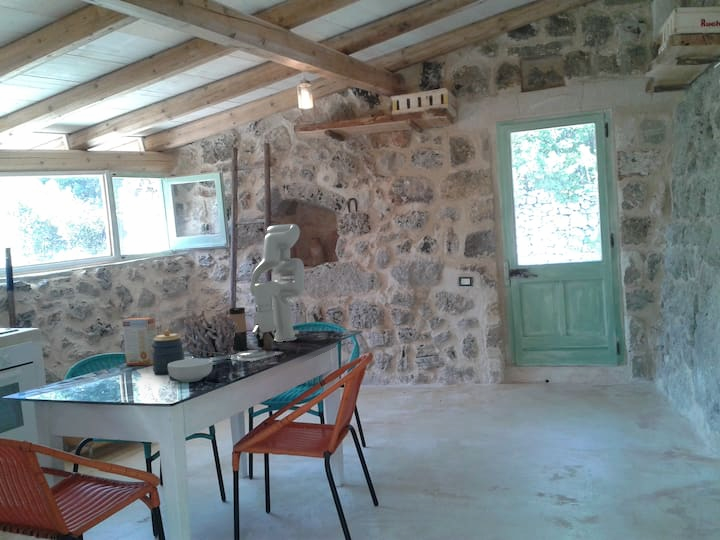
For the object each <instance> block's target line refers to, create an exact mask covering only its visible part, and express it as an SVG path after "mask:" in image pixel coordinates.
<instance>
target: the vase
mask: <svg viewBox="0 0 720 540" xmlns="http://www.w3.org/2000/svg"><path fill="white" fill-rule="evenodd" d="M262 339H263V345H264V347H259V348H260V350H265V351H269V349H270V350H271V349H273V347H274V344H273V338H272V336H271V335H270V334H269V333H268V332H266V333H263V336H262Z"/></svg>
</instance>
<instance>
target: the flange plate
mask: <svg viewBox="0 0 720 540" xmlns="http://www.w3.org/2000/svg"><path fill="white" fill-rule="evenodd" d="M282 353H283V354H284V351H273V350H270V351H269V350H262V349H249V350H241V351H240V352H237V353H236V354H235V353H234V354H232V355H231V358H230V359H231V360H230V361H234V360H237V361H236V362H246V361H250V363H253V361H254V362H258V361H260V360H265V359H268V358H272V357H275V355H276V356H279V355H282ZM257 360H258V361H257Z"/></svg>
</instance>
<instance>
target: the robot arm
mask: <svg viewBox="0 0 720 540" xmlns="http://www.w3.org/2000/svg"><path fill="white" fill-rule="evenodd" d="M300 232H301V231H300V227H299V225H298V224H295V223H287V224H273V225H269V226H268V227H267V228H266V235H265V237H264V239H263V240H264V241H263V250H262V259H261V261H260V263H258V265H257V266H256V268H255V269H254V270H253V272H252V274H251V276H250V277H251V278H250V279H251V280H250V290H249V291H250V293H251V296H253V297H254V303H255V312H254V315H253V316H254V317H253V330H252V334H253V335H254V337H255V338H256V339H257V348H260V347H264V345H263V339H262V336H263V333H266V332H268V333H269V334H270V335H271V336H272V338H273V345H275V342H274V341H276V342H277V343H283V341H286V342H291V341H292V342H293V341H295V340H297V338H298V337H297V336H295V335H299V333H300V331H299V330H298V329H297V330H296V329H295V330H294V327H293V326H294V325H293V324H294V323H293V313H292V304H291V302H290V301H289V300H288V299H287V298H299V297H301V296H302V295H303V294H304V287H305V284H304V283H305V265H304V261H302V259H301V258H297V257H293V258H291V248H293V246H294V245H296V243H297V241H298V239H299V238H300ZM272 269H273V275H274V276H275V277H276V278H277V277H278V278H279V279H275V280H267V281H266V280H265V281H264V280H263V281H262V280H261V281H260V279H261V277H262V276H263V274H265V273H266V272H268V271H270V270H272Z"/></svg>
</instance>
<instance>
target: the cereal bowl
mask: <svg viewBox="0 0 720 540" xmlns="http://www.w3.org/2000/svg"><path fill="white" fill-rule="evenodd" d="M213 367H214V366H213V360H212V359H210V358H186V359H185V360H179V361H174V362H171V363H169V364H168V372H169V374H168V375H169V376H170V377H172V378H173V379H174V380H177V381H179V382H180V383H196V382H198V381H202V379H203V378H205V377H208V375H210V374H211V372H212V370H213Z"/></svg>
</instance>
